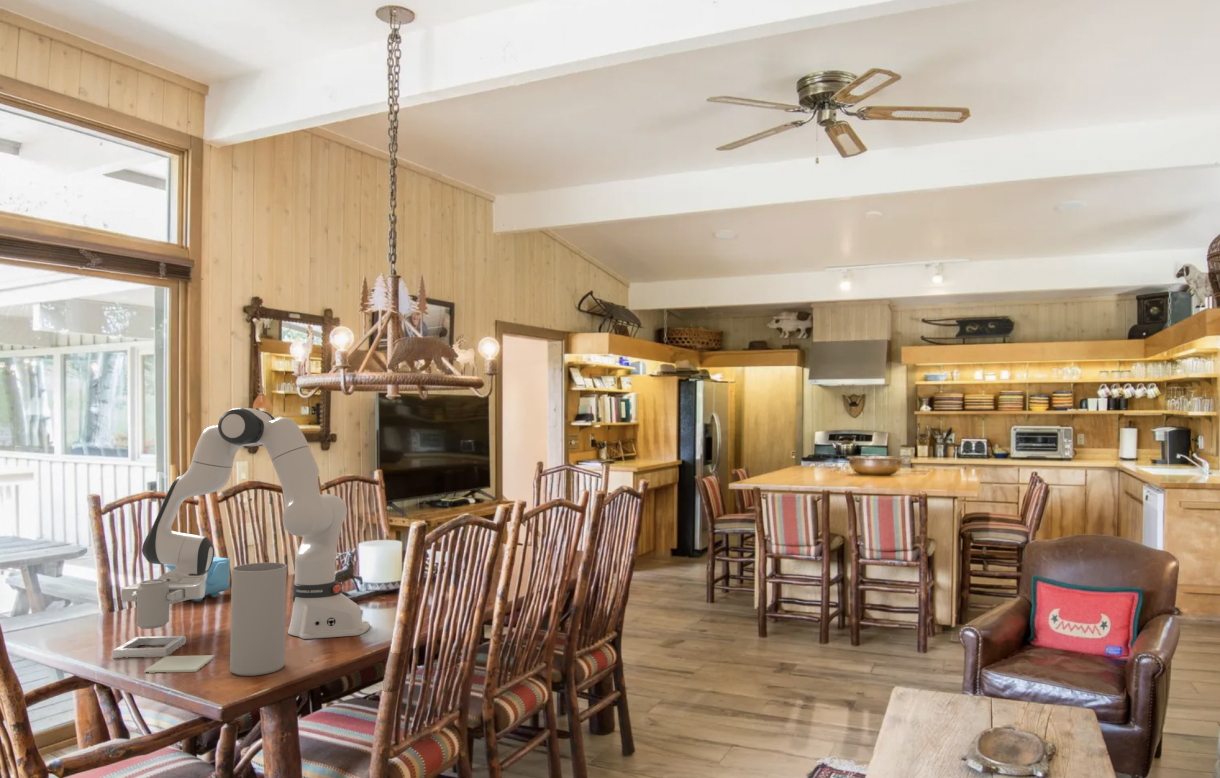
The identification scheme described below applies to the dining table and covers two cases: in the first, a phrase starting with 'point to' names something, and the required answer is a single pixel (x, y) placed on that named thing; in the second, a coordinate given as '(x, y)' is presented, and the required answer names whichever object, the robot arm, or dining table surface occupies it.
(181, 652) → the dining table surface
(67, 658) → the dining table surface
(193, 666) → the tile
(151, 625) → the can
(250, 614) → the cylinder vase
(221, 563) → the teakettle
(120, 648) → the square picture frame
